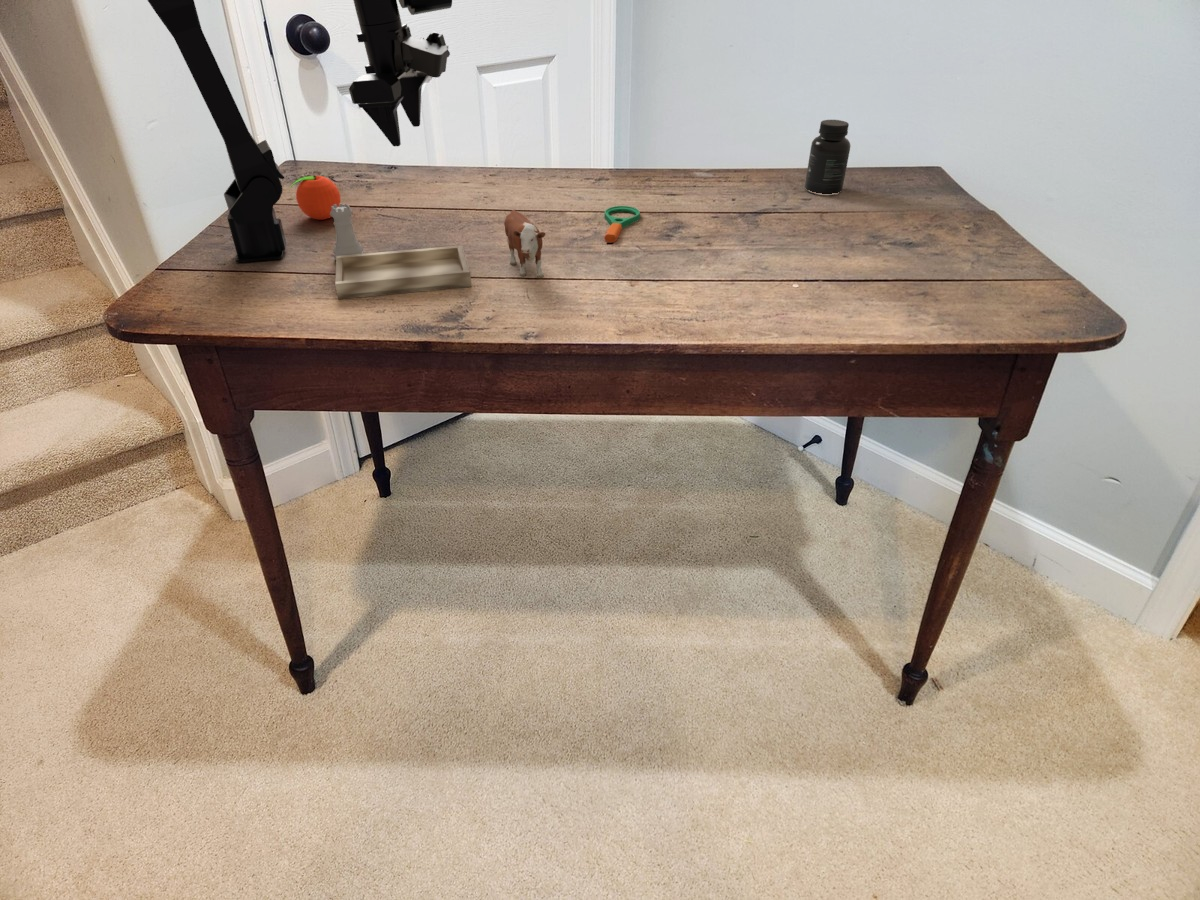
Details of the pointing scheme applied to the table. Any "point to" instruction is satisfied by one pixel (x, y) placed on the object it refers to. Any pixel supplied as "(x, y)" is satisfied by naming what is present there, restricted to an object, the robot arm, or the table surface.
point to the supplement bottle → (828, 158)
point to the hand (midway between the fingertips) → (407, 135)
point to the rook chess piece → (344, 232)
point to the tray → (401, 272)
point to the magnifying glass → (619, 221)
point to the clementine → (317, 196)
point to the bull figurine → (523, 241)
